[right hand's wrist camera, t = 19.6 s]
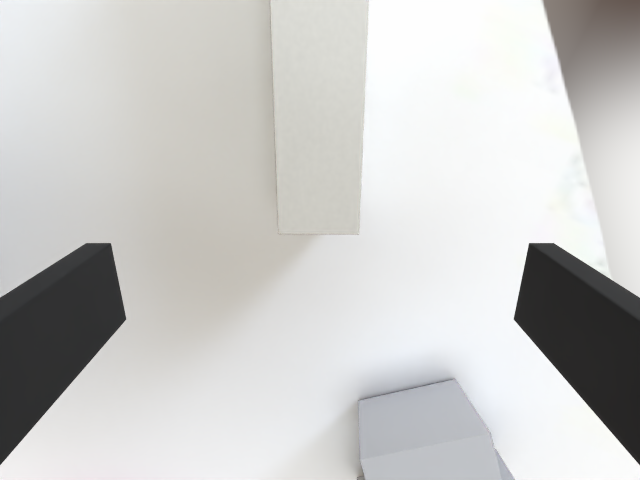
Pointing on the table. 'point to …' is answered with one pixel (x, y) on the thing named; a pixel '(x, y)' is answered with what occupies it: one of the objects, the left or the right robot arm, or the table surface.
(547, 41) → the table surface
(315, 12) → the bar
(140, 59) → the table surface
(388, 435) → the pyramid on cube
